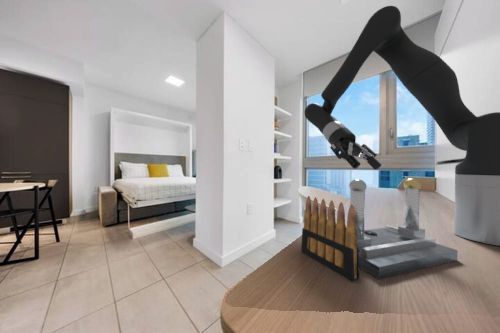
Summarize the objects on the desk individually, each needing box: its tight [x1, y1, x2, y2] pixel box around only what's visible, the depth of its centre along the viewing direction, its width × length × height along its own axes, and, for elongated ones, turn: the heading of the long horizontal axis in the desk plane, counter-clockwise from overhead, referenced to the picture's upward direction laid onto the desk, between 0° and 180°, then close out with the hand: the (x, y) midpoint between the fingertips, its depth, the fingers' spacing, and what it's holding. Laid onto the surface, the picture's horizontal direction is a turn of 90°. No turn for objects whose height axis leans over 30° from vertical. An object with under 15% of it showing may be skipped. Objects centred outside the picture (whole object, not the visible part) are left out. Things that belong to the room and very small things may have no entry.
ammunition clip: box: [300, 195, 360, 283], centre depth 31 cm, size 11×2×12 cm, turn 30°
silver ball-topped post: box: [348, 178, 371, 251], centre depth 36 cm, size 4×7×14 cm, turn 17°
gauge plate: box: [358, 227, 458, 280], centre depth 36 cm, size 22×13×3 cm, turn 107°
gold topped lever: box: [384, 177, 426, 240], centre depth 41 cm, size 4×7×14 cm, turn 17°
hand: (368, 167), depth 49 cm, fingers open, 8 cm apart
